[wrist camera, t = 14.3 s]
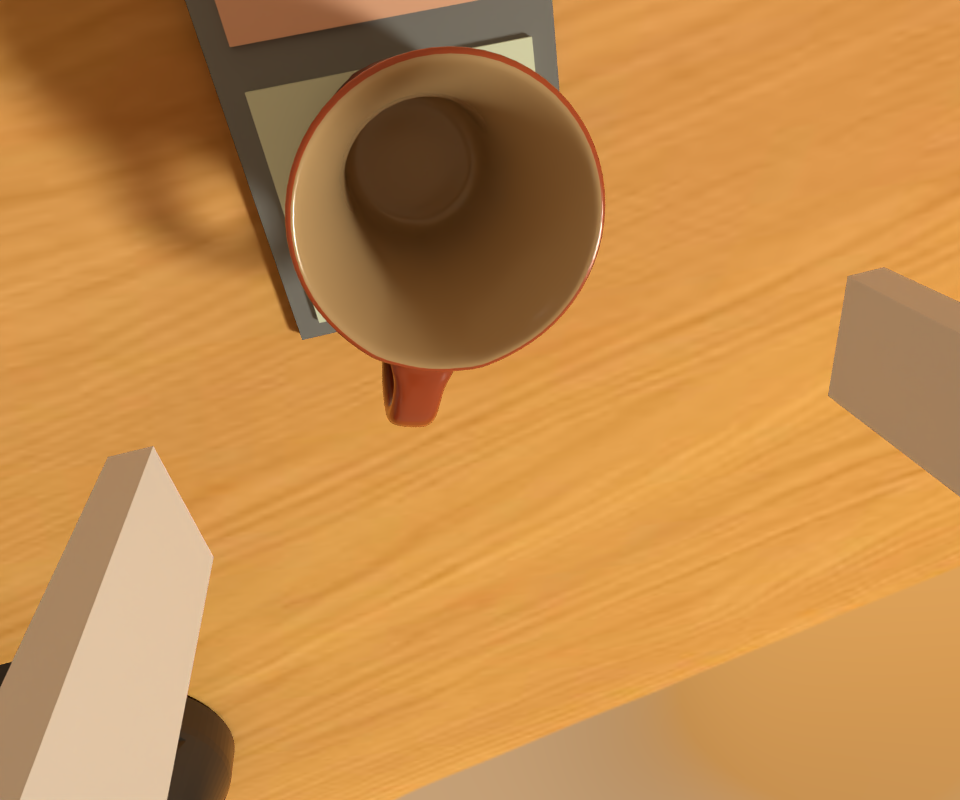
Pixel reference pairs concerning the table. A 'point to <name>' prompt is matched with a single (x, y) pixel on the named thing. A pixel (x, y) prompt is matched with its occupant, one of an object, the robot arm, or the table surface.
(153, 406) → the table surface
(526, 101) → the mug
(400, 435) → the table surface
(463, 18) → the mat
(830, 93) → the table surface
